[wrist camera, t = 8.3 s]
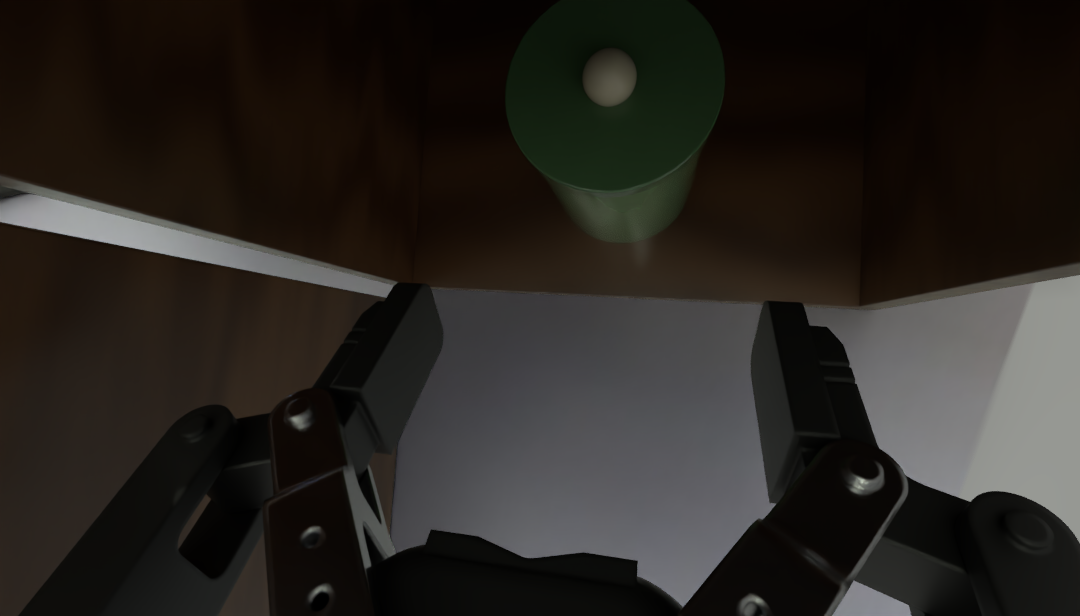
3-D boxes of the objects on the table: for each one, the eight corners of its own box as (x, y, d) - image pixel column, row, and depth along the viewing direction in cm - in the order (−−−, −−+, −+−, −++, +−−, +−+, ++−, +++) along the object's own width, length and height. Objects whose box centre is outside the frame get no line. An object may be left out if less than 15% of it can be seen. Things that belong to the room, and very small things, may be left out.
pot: (548, 245, 24) (484, 179, 15) (557, 109, 25) (501, -41, 15) (694, 249, 23) (727, 179, 14) (701, 105, 24) (737, -62, 14)
